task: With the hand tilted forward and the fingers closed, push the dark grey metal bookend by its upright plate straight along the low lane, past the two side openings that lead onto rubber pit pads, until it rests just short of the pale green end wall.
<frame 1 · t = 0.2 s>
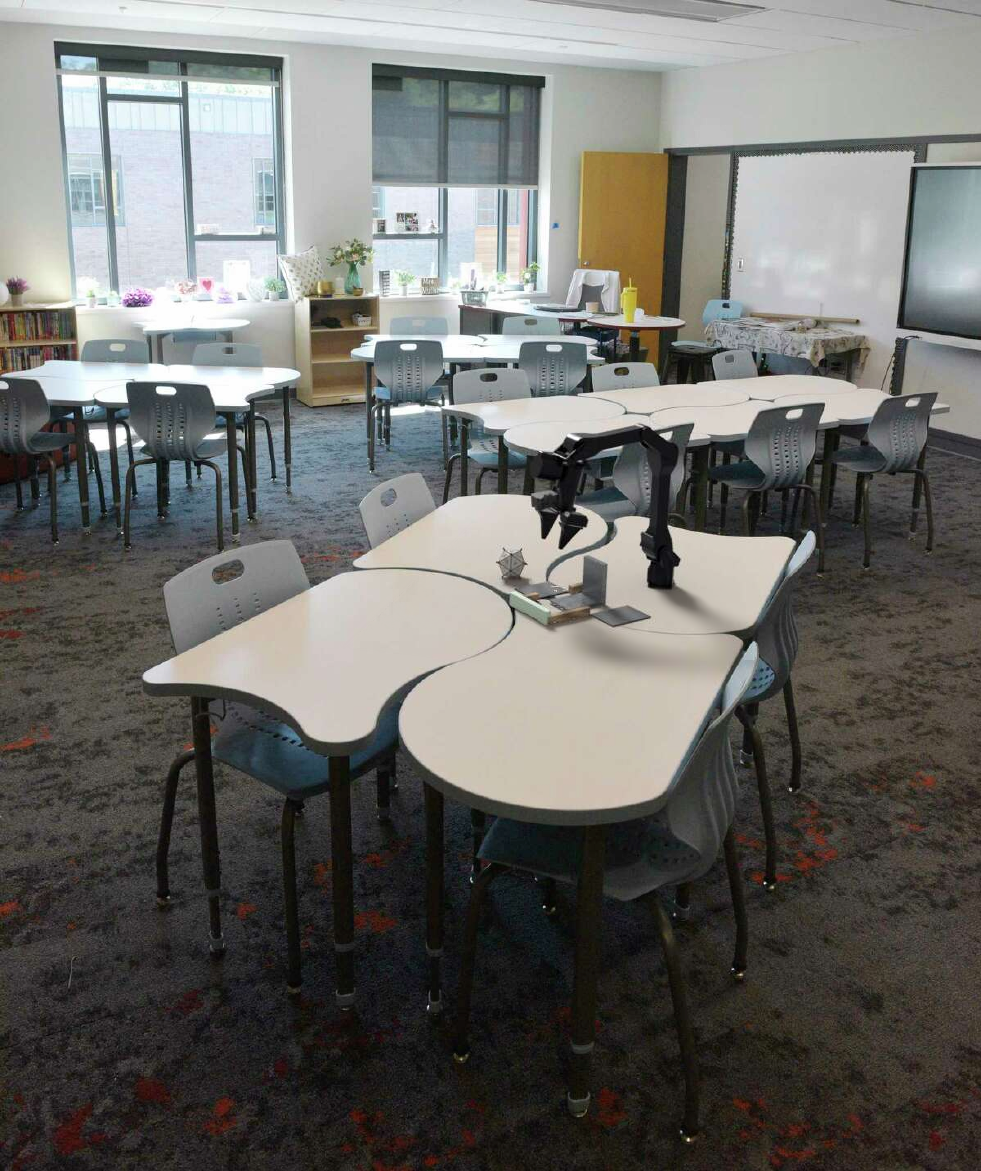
hand: (551, 544, 272), 16 cm above the table, tool pointing down, fingers open, 9 cm apart
bookend: (577, 603, 276), on the table
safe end: (529, 607, 268), on the table
trap lane: (577, 603, 276), on the table
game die: (511, 577, 295), on the table
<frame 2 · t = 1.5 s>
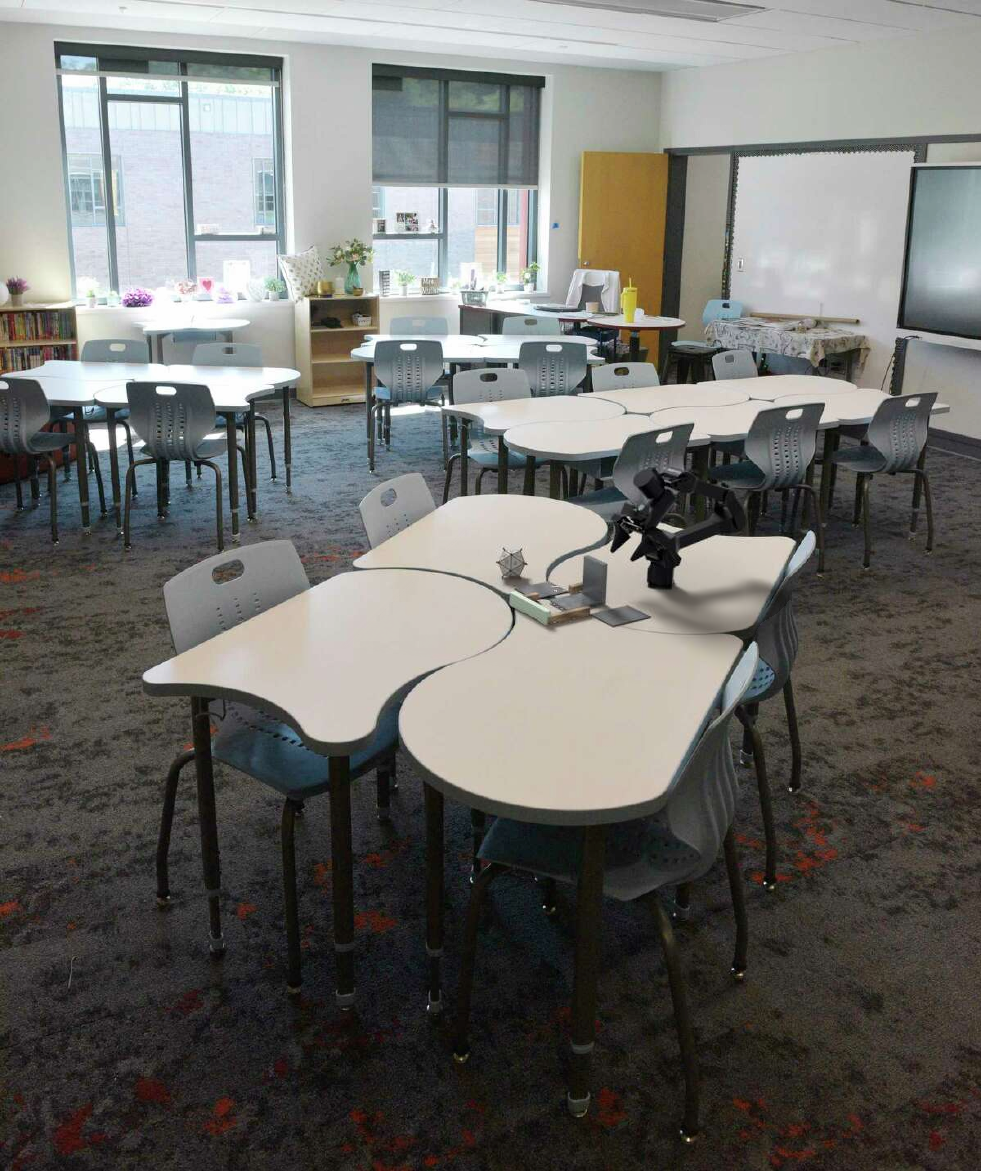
hand: (621, 556, 280), 10 cm above the table, tool tilted 45°, fingers open, 8 cm apart
nothing on the table moved.
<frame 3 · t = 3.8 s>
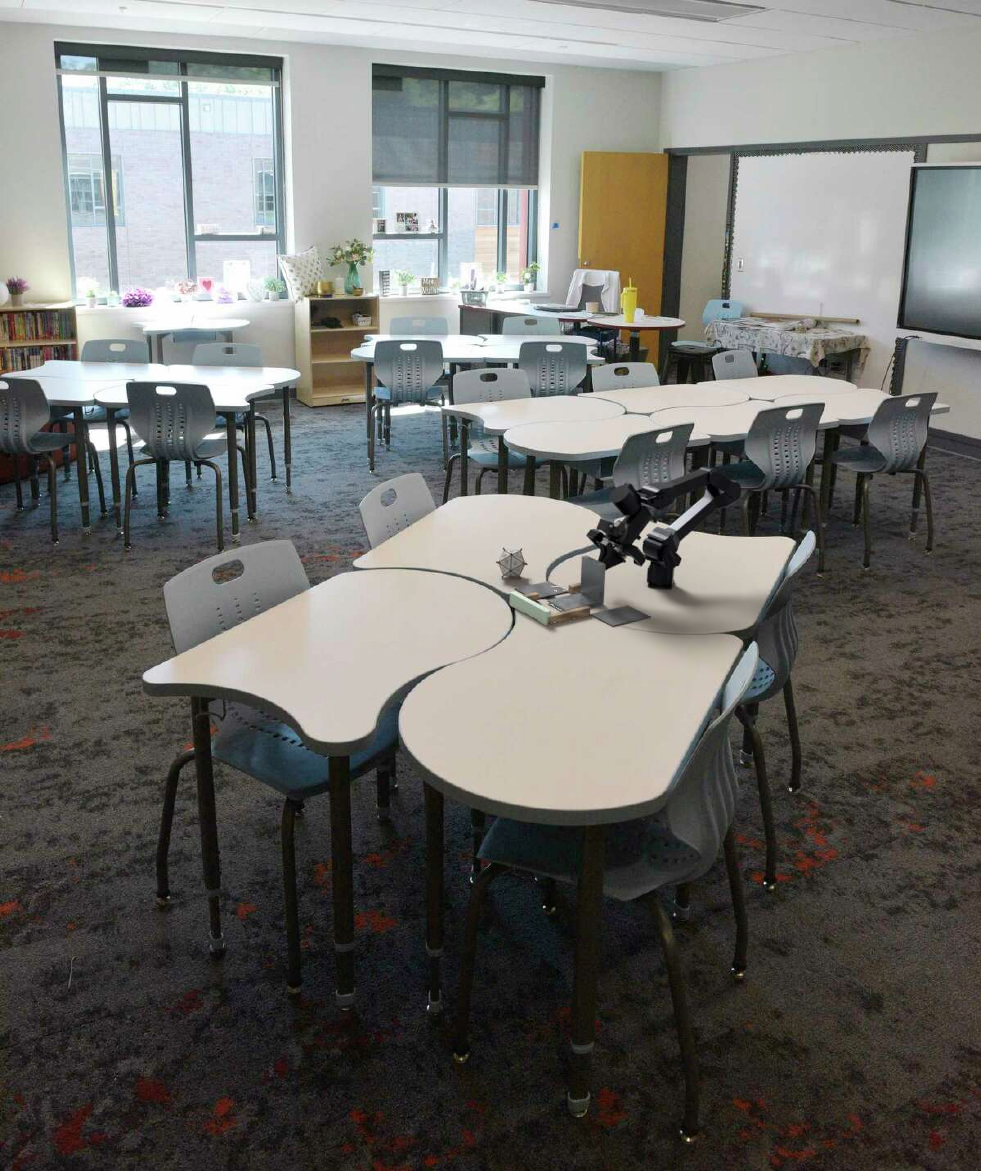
hand: (596, 572, 277), 7 cm above the table, tool tilted 45°, fingers closed
nothing on the table moved.
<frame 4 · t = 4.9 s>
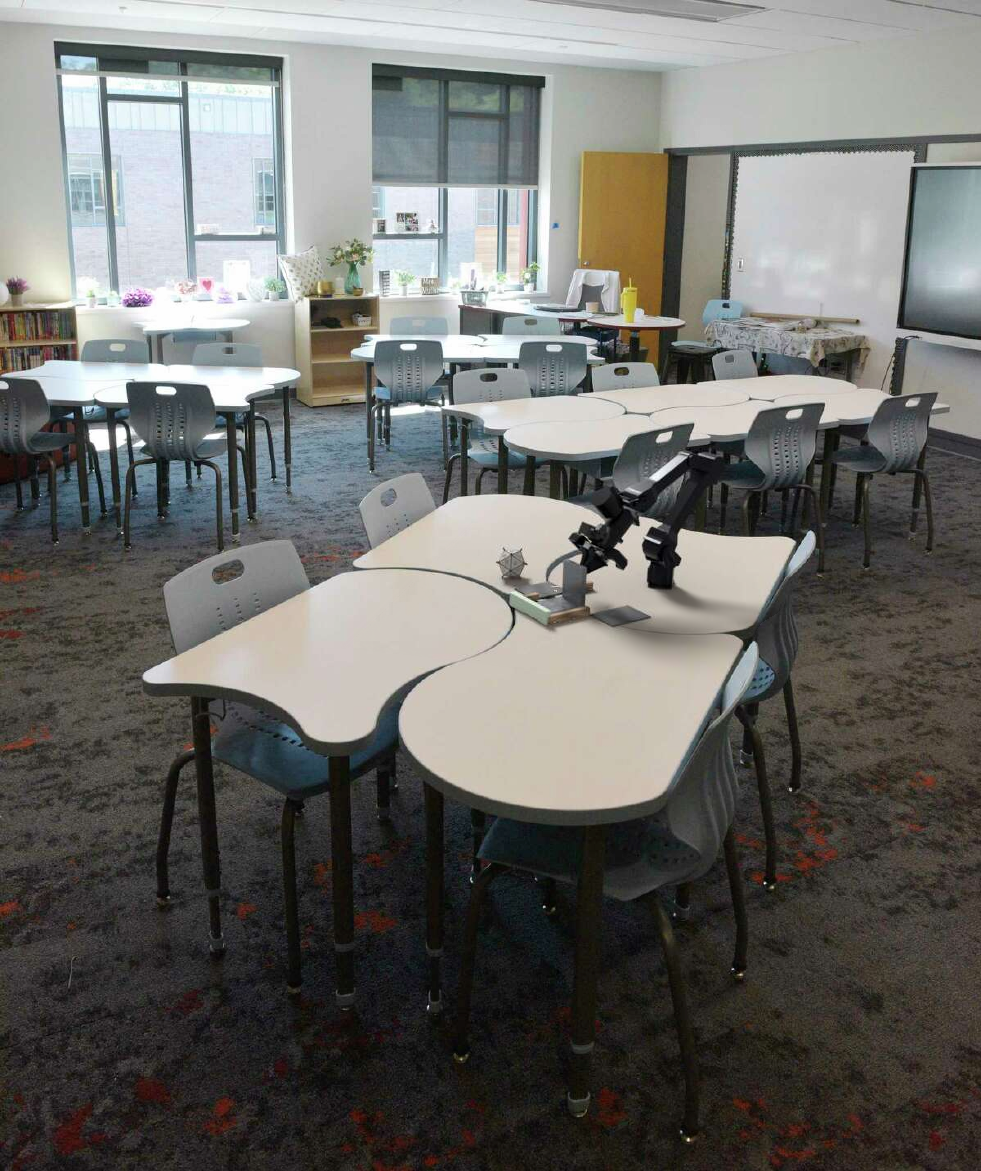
hand: (577, 576, 274), 7 cm above the table, tool tilted 45°, fingers closed
bookend: (556, 608, 273), on the table
everything else where it was.
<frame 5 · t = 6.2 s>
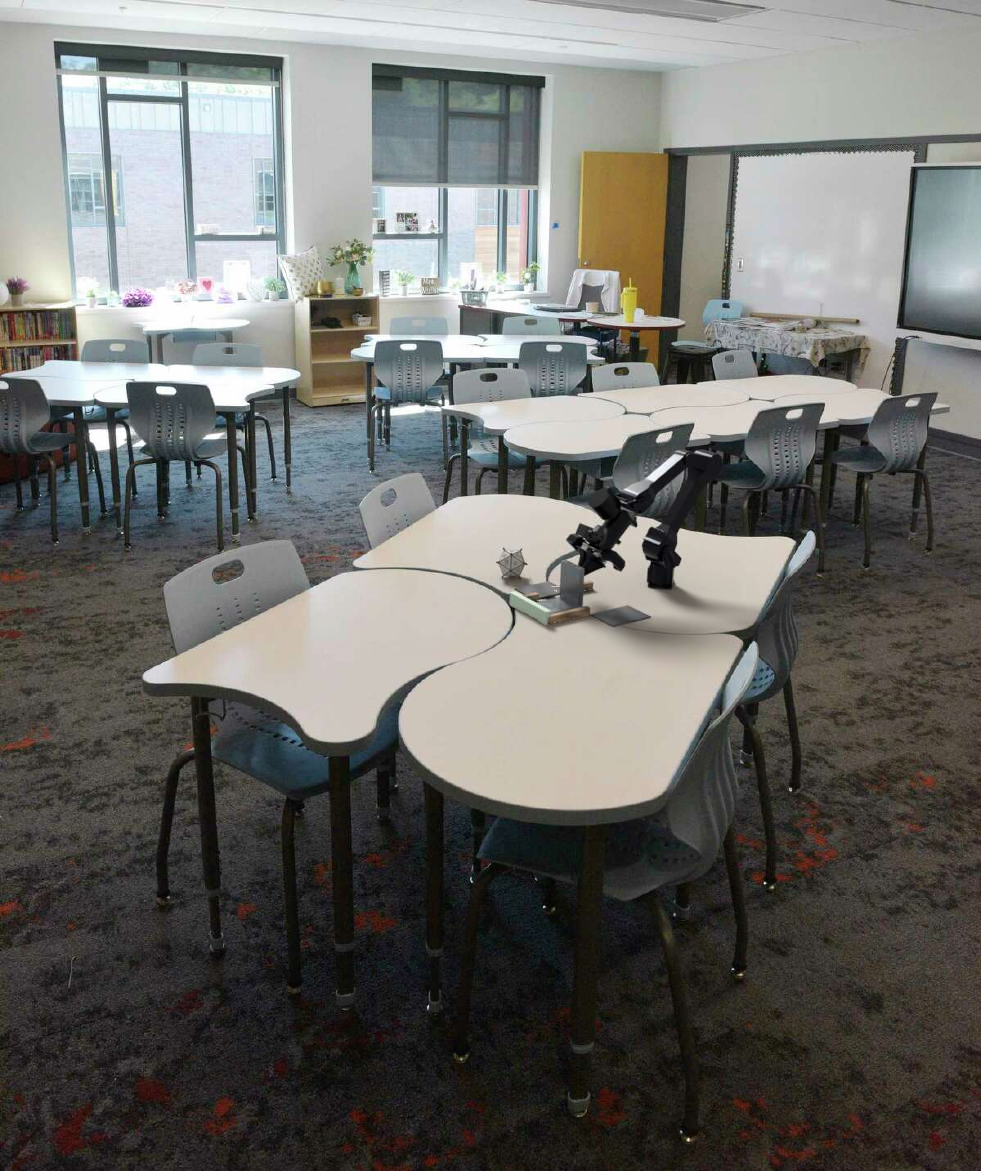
hand: (575, 578, 274), 7 cm above the table, tool tilted 45°, fingers closed
nothing on the table moved.
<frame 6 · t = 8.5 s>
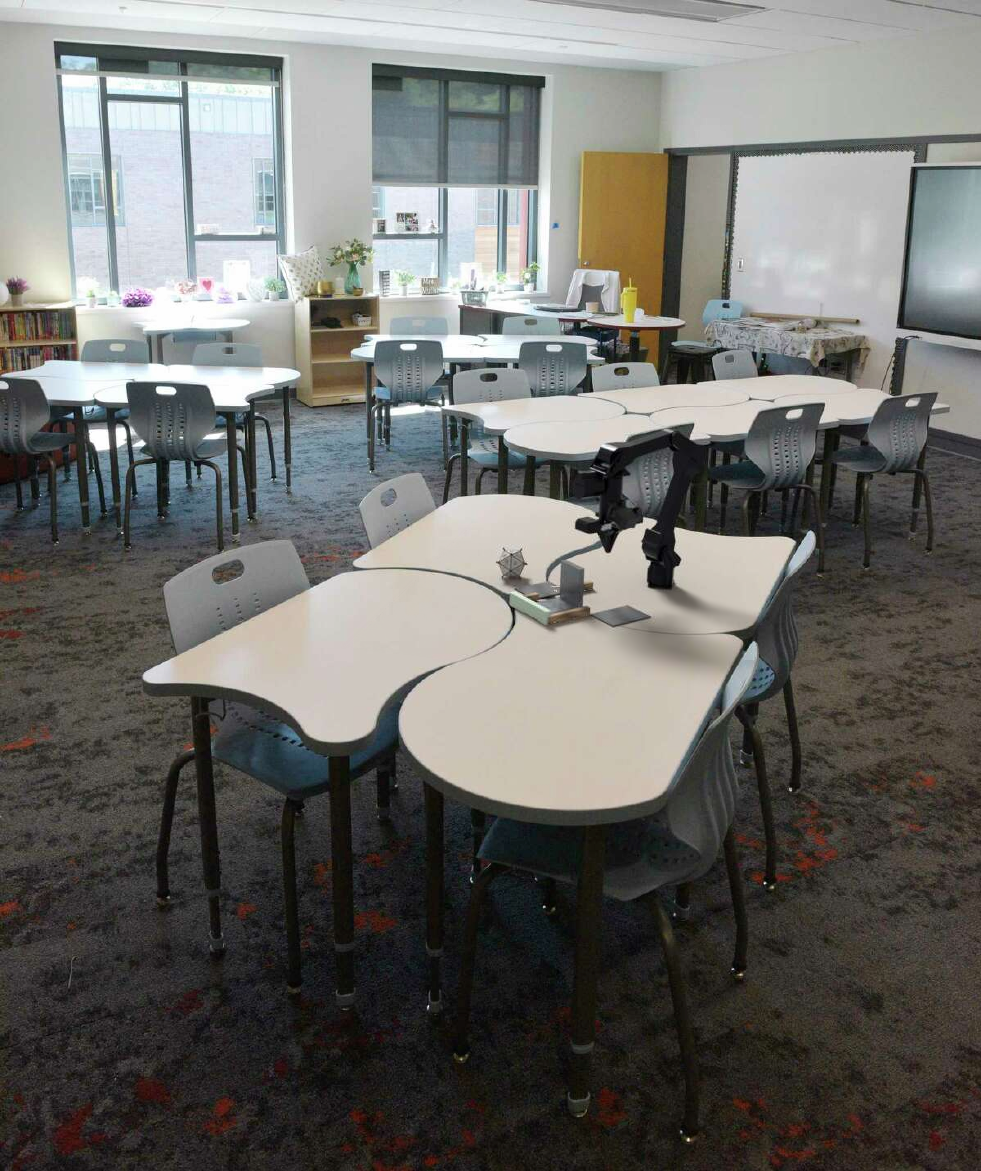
hand: (607, 552, 278), 12 cm above the table, tool pointing down, fingers closed
nothing on the table moved.
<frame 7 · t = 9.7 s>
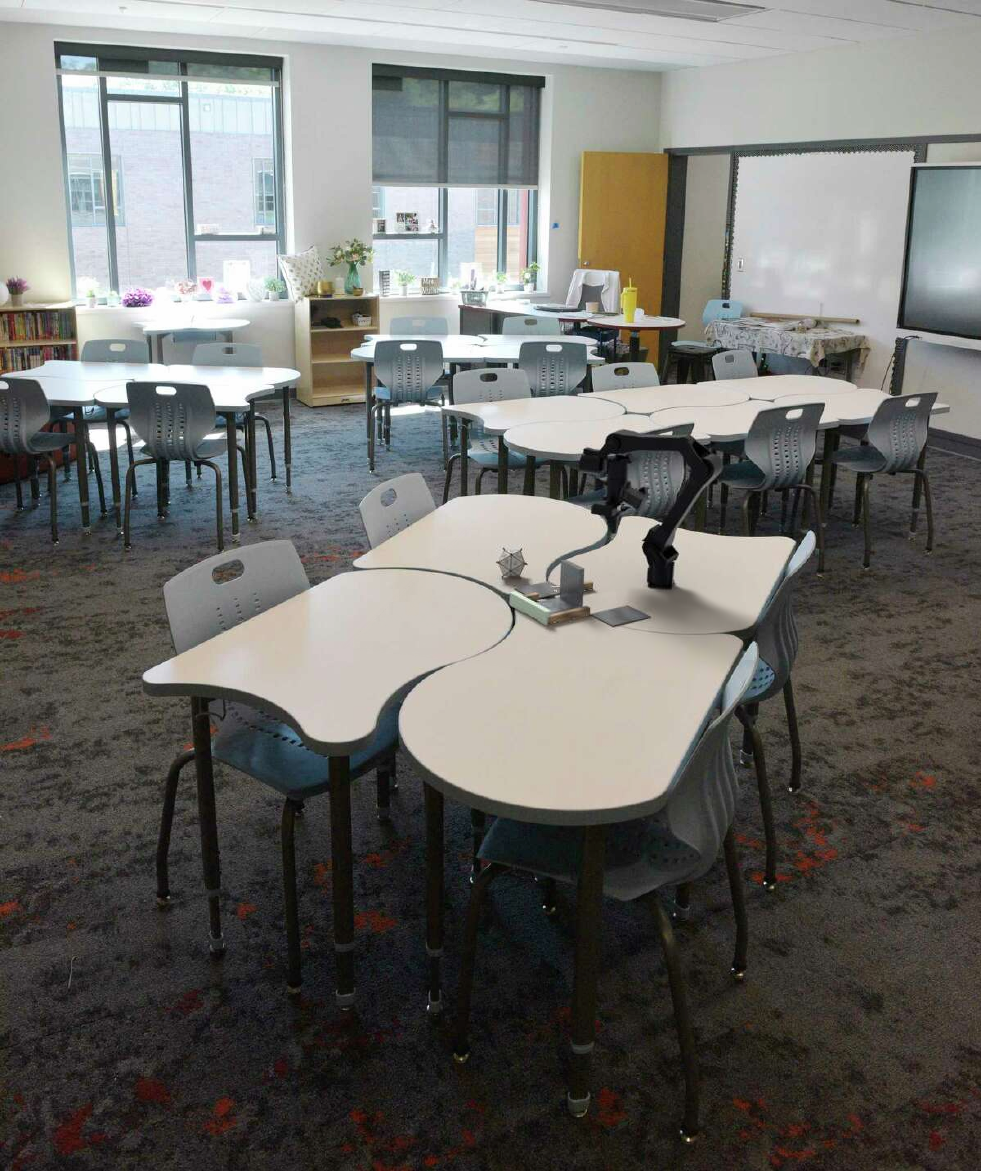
hand: (614, 533, 294), 12 cm above the table, tool pointing down, fingers closed
nothing on the table moved.
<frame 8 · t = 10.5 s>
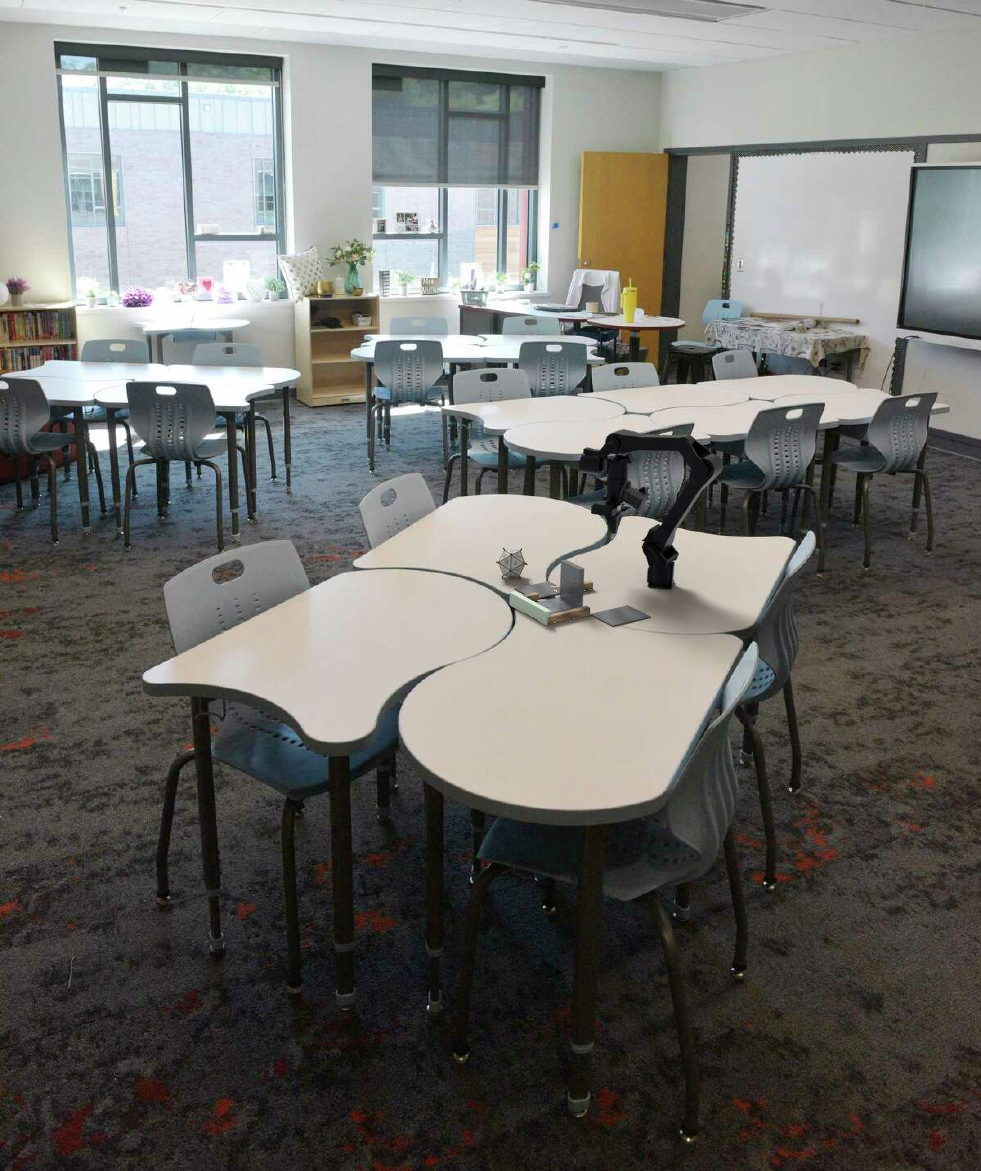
hand: (614, 533, 294), 12 cm above the table, tool pointing down, fingers closed
nothing on the table moved.
at the end: bookend 0.3 cm from the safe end (horizontally); bookend tilted 0°; bookend moved 7.2 cm from its start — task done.
